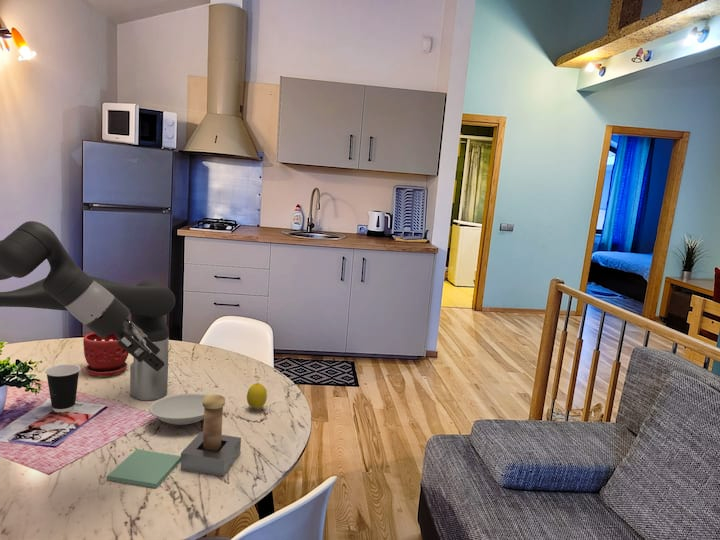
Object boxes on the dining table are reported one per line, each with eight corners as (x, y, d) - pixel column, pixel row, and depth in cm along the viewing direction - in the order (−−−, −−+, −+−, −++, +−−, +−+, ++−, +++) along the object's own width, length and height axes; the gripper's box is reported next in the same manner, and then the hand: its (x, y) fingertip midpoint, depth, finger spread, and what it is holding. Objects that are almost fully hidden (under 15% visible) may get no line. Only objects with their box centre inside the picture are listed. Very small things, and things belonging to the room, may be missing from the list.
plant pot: (138, 371, 162) (138, 335, 160) (98, 383, 151) (98, 344, 149) (114, 360, 169) (114, 326, 167) (74, 371, 158) (74, 334, 156)
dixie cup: (86, 402, 138) (86, 364, 136) (70, 416, 130) (70, 376, 128) (56, 401, 138) (56, 362, 136) (39, 414, 130) (38, 373, 128)
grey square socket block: (180, 469, 111) (180, 453, 111) (200, 446, 121) (201, 431, 121) (223, 476, 110) (224, 459, 110) (240, 453, 120) (241, 437, 119)
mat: (106, 480, 106) (106, 475, 105) (136, 453, 116) (136, 449, 116) (156, 488, 104) (156, 484, 104) (181, 460, 115) (181, 456, 115)
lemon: (261, 415, 140) (263, 388, 139) (242, 411, 141) (244, 385, 140) (269, 407, 145) (270, 380, 144) (251, 403, 146) (252, 377, 145)
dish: (149, 441, 122) (149, 421, 121) (147, 414, 135) (147, 396, 134) (223, 431, 129) (224, 413, 129) (214, 407, 142) (215, 390, 141)
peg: (196, 465, 114) (199, 402, 111) (206, 454, 118) (208, 393, 116) (217, 468, 113) (219, 405, 111) (225, 457, 118) (228, 396, 115)
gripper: (83, 312, 104) (142, 361, 111) (81, 333, 92) (148, 386, 99) (112, 287, 106) (168, 336, 113) (114, 304, 93) (177, 358, 100)
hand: (158, 360), depth 106 cm, fingers open, 8 cm apart
